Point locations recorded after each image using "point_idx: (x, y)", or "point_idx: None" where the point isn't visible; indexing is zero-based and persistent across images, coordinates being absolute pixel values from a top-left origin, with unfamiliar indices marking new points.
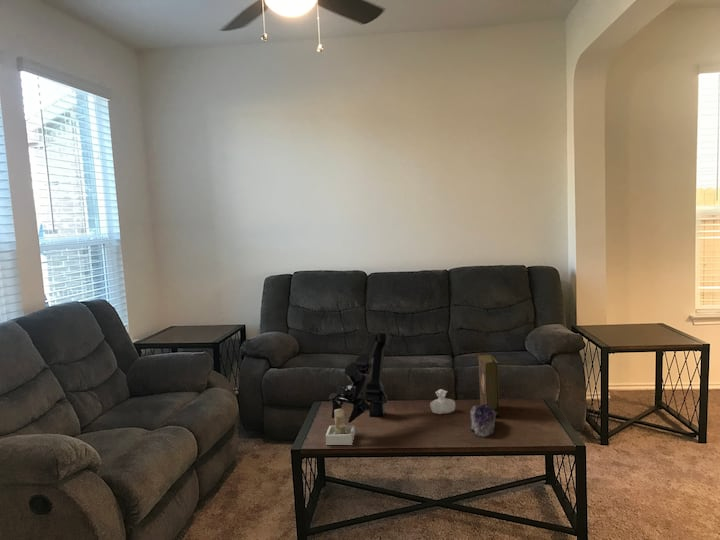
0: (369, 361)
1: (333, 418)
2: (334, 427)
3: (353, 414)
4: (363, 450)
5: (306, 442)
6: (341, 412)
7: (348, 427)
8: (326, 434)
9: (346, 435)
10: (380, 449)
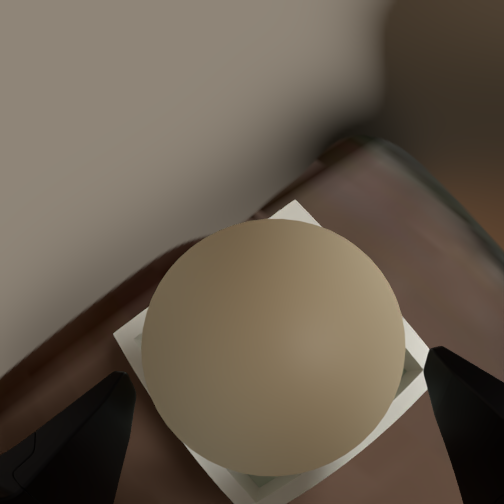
0: None
1: (423, 371)
2: (397, 392)
3: (37, 439)
4: (64, 328)
5: (429, 207)
6: (157, 313)
7: (287, 479)
8: (305, 216)
9: (147, 309)
10: (15, 381)
